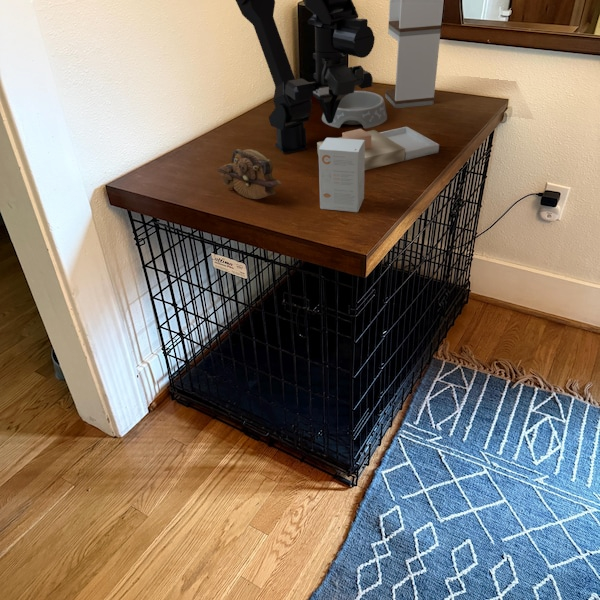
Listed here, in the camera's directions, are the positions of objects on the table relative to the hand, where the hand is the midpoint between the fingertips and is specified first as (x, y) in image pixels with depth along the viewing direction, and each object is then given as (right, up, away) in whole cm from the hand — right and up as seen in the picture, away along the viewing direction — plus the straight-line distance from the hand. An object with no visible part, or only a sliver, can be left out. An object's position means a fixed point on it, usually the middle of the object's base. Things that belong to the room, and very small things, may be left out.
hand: (329, 122), depth 127 cm
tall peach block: (+7, -4, +6) cm, 10 cm away
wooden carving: (-17, -18, -5) cm, 25 cm away
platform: (+8, -6, +8) cm, 13 cm away
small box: (+2, -20, -10) cm, 23 cm away
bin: (+20, -2, +12) cm, 23 cm away
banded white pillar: (+26, +19, +40) cm, 51 cm away
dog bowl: (+9, +11, +31) cm, 34 cm away
